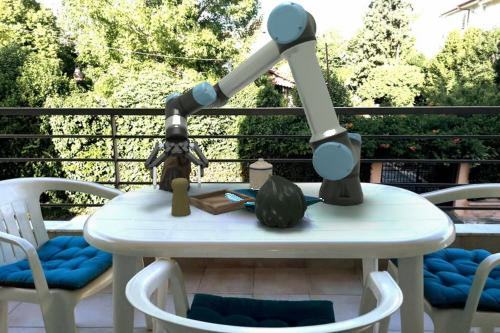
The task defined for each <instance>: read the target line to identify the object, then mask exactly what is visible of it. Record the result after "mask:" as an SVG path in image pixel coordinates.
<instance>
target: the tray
mask: <svg viewBox="0 0 500 333" xmlns="http://www.w3.org/2000/svg"><path fill="white" fill-rule="evenodd" d="M225 193H231V194H234V195H236V196H238V197H240V198H242V199H244V200H240V201H236V202H231V201H229V200H228V199H227V198H226V197H225ZM188 198H189V204H190V206H193V207H195V208H197V209H200V210H202V211H204V212H207V213H209V214H211V215H213V216H217V215H221V214H225V213H228V212H233V211H237V210H240V209H241V210H242V209H245V208H246V207H245V206H244V204H243V203H247V202H255V199H256V197H253V196H250V195H246V194H243V193H240V192H237V191H234V190H231V189H227V188H224V189H218V190H213V191H208V192H203V193H200V194H199V193H198V194H194V195H188Z"/></svg>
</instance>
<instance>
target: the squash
mask: <svg viewBox="0 0 500 333" xmlns="http://www.w3.org/2000/svg"><path fill="white" fill-rule="evenodd" d="M306 200H307V199H306V196H305V194H304V193H303V190H302V188H301V187H300V186H299V185H297V184H296V183H294V182H293V181H290V180H289V179H287V178H285V177H283V176H281V175H275V174H274V175H273V174H272V175H271V176H270V177H269V178H268V180H267V181H266V182H265V183H264V185H263V186H262V187H261V188H260V189H259V191H257V193H256V196H255V205H254V212H255V217H256V219H257V221H259V222H260V223H261V224H263V225H266V226H268V227H271V228H272V227H276V226H277V227H279V228H282V229H284V228H286V227H287V226H288V227H295V226H297V225H298V224H299V223H300V221H301V220H302V219H303V218H304V217H305V214H306V211H307V209H308V205H307V201H306Z"/></svg>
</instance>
